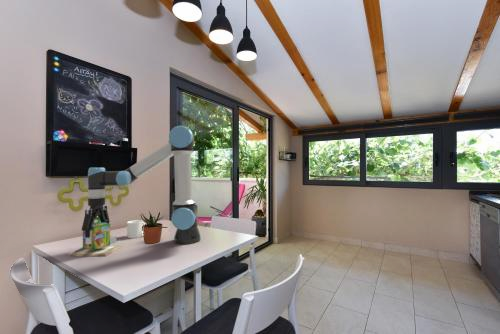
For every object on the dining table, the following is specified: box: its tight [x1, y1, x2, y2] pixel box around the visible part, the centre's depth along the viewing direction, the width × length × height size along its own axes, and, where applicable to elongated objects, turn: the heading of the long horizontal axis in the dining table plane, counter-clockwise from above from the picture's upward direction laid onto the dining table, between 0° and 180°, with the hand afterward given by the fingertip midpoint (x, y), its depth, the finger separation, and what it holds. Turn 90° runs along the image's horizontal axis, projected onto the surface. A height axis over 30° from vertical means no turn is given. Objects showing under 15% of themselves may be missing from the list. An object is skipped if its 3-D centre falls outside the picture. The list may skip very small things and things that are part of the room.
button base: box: [110, 235, 117, 245], centre depth 139 cm, size 10×10×3 cm
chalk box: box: [82, 216, 111, 250], centre depth 127 cm, size 9×9×15 cm
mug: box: [126, 219, 146, 239], centre depth 155 cm, size 12×9×9 cm
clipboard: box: [69, 245, 122, 257], centre depth 127 cm, size 18×13×1 cm
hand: (96, 240), depth 127 cm, fingers closed on chalk box, 11 cm apart
